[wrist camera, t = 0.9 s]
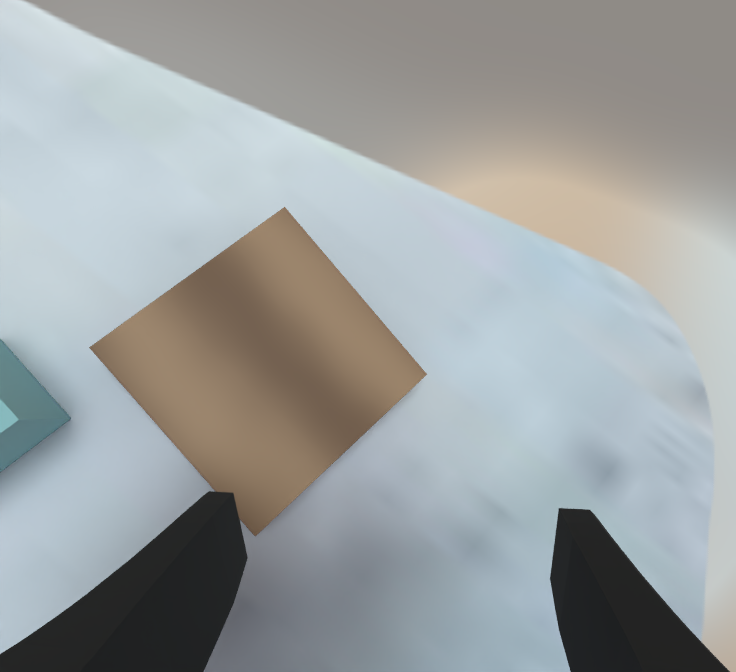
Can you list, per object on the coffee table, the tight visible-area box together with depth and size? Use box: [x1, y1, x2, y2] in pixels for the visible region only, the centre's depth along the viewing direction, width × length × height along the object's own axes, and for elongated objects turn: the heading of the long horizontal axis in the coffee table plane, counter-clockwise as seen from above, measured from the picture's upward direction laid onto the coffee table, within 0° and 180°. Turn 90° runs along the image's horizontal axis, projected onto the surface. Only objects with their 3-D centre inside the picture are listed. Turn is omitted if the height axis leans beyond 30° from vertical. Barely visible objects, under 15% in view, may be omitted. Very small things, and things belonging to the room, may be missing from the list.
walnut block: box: [89, 207, 427, 536], centre depth 22 cm, size 10×10×3 cm
